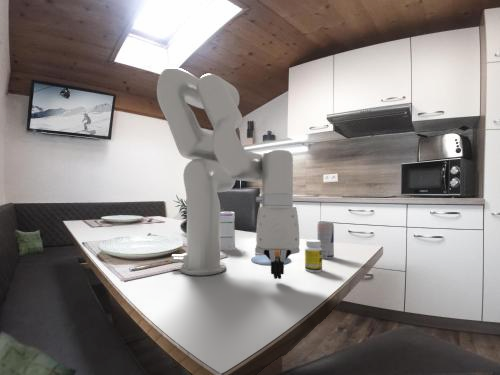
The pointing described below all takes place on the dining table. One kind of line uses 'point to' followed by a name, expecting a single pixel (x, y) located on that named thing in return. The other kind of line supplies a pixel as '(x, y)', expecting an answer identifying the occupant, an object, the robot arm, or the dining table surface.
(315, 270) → the supplement bottle
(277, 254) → the ball
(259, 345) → the dining table surface
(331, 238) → the energy drink
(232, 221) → the syrup box
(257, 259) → the disc
